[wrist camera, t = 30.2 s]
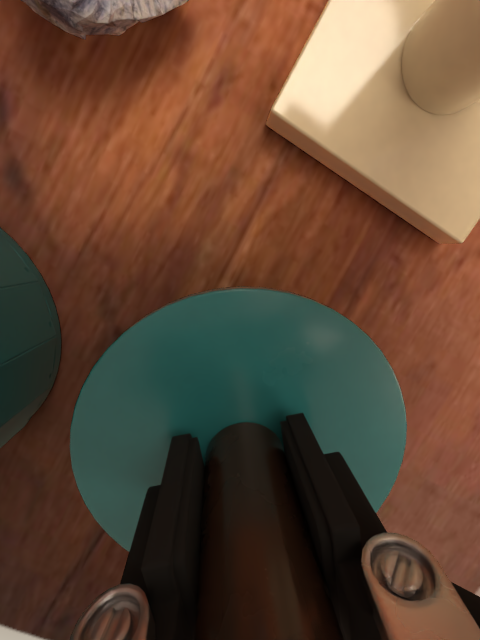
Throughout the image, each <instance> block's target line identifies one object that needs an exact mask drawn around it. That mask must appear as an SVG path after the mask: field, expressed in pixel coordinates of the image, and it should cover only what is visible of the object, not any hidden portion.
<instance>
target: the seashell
mask: <svg viewBox="0 0 480 640" xmlns="http://www.w3.org/2000/svg"><path fill="white" fill-rule="evenodd" d="M21 1H23V2H25V3H26V4H27V5H28V6H29V7H30V8H31V9H32V10H33V11H34V12H36V13H37V14H39V15H40V16H42V17H43V18H45V19H46V20H48V21H49V22H51V23H52V24H54V25H55V26H57V27H59V28H61V29H62V30H64V31H66V32H67V33H70V34H72V35H75V36H77V37H80V38H82V39H85V40H86V35H103V34H110V35H117V36H119V35H121V34H123V33H124V32H125V31H126V30H127V29H128V28H130V27H131V26H133V25H135V24H136V23H138V21H140V22H142V23H143V22H146V21H149V20H151V19H153V18H155V17H159V16H161V15H163V14H165V13H167V12H169V11H171V10H172V9H174V8H176V7H178V6H181V5H183V4H184V3H186V2H187V1H188V0H21Z"/></svg>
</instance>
